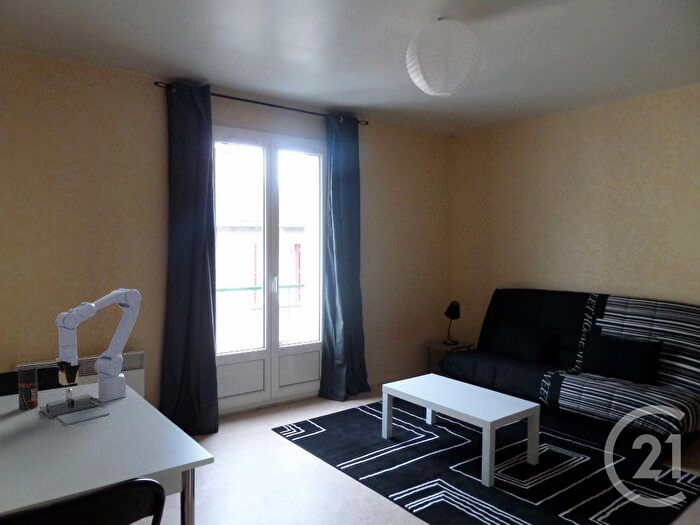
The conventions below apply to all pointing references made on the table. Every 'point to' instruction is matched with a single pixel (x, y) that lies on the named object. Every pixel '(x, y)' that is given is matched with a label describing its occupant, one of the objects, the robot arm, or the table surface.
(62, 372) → the collar
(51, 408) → the vise
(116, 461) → the table surface
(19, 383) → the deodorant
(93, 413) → the mat
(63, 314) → the robot arm
